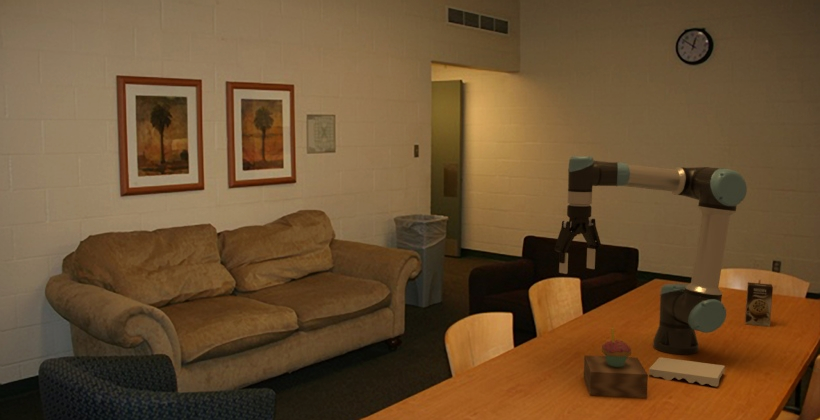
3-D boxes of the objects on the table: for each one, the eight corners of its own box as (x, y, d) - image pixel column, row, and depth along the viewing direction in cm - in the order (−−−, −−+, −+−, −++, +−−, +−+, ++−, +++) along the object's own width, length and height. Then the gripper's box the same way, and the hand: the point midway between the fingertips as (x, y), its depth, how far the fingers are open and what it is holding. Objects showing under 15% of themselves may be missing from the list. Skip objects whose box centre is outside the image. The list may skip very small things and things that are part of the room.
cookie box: (745, 324, 299) (747, 284, 298) (744, 320, 305) (747, 281, 304) (770, 327, 296) (773, 286, 294) (769, 323, 302) (772, 283, 300)
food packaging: (648, 379, 235) (717, 389, 225) (649, 368, 235) (717, 378, 225) (659, 367, 248) (724, 376, 238) (659, 357, 248) (724, 365, 238)
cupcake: (614, 370, 219) (616, 330, 218) (594, 362, 226) (596, 323, 225) (636, 366, 223) (638, 326, 222) (616, 358, 230) (617, 320, 229)
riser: (636, 379, 232) (637, 357, 232) (646, 398, 216) (647, 374, 216) (583, 377, 234) (584, 355, 233) (590, 395, 218) (591, 371, 217)
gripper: (594, 201, 249) (592, 264, 251) (544, 206, 233) (542, 273, 236) (613, 203, 243) (610, 268, 245) (563, 208, 228) (560, 277, 230)
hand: (577, 270), depth 241 cm, fingers open, 13 cm apart
